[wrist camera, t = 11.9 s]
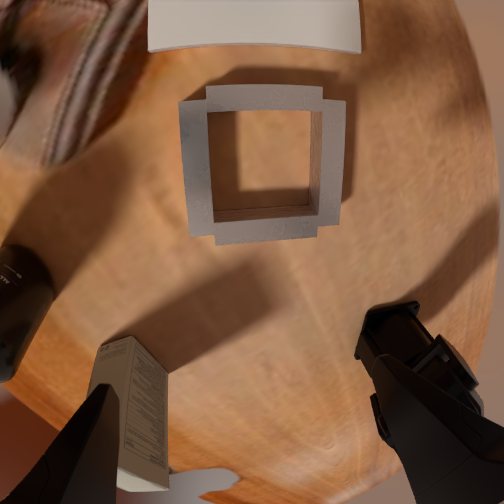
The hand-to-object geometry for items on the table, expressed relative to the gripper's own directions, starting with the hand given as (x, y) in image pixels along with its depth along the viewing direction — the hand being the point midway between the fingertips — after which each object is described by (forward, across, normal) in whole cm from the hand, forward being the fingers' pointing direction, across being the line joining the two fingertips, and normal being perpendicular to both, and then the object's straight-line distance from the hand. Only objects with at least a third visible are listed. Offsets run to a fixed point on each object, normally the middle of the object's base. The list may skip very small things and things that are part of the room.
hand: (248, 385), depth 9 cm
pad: (+13, -2, -18) cm, 22 cm away
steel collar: (+13, -2, -4) cm, 14 cm away
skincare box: (+13, +9, +13) cm, 20 cm away
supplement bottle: (+13, +17, +3) cm, 22 cm away
